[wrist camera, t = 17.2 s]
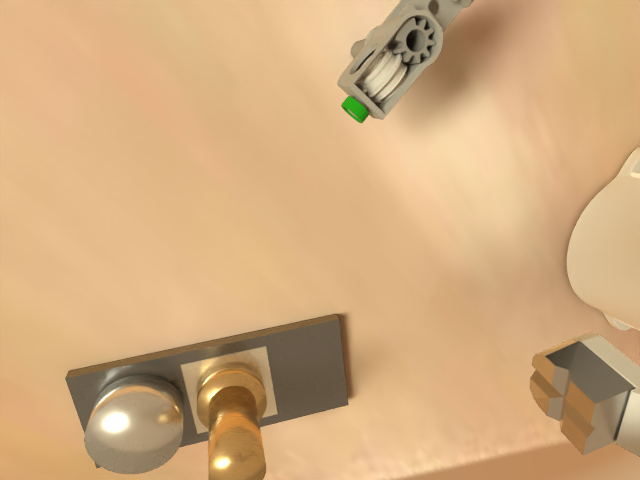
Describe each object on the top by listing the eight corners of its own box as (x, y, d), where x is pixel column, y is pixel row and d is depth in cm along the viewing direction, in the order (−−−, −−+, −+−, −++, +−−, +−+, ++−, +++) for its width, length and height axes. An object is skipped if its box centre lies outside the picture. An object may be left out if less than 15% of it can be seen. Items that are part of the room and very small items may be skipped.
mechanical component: (419, 11, 34) (498, -16, 25) (331, 120, 35) (375, 132, 26) (392, -20, 33) (464, -60, 24) (301, 93, 34) (337, 96, 25)
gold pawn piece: (259, 355, 39) (273, 429, 31) (268, 409, 41) (284, 492, 33) (191, 370, 38) (186, 450, 30) (203, 425, 40) (203, 514, 32)
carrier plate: (336, 313, 41) (349, 336, 37) (345, 398, 44) (358, 426, 40) (68, 370, 37) (53, 402, 33) (99, 459, 40) (88, 497, 36)
